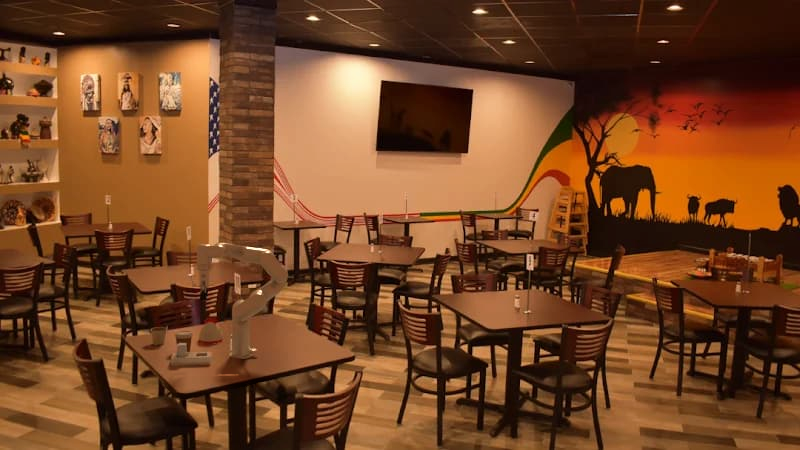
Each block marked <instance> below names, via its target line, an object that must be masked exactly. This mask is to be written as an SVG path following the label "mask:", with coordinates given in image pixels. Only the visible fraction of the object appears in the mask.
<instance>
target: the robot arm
mask: <svg viewBox="0 0 800 450" xmlns="http://www.w3.org/2000/svg"><path fill="white" fill-rule="evenodd" d="M224 257H226V258H232V259H236V260H238V261H240V262H243V263H249V264H257V265H261V267H262V268H263V270H265V272H266V273H267V274H268V275H269V277H271V278H270V280H269V281H268V282H266V283H265V284H264V285H262V286H261V287H259V288H257V289H255V290H253V291H252V292H251V293H250V295H249V297H248V298H246V299H245V300H244V299H239V300H238V299H237V300H236V301H235V302H234V303H233V305H232V308H231V316H232V319H231V320H232V321H231V322H232V323H231V324H232V325H231V352H230V353H228V356H229V357H231V358H235V359H236V358H237V359H240V360H247V359H250V358H251V357H252V356H253V354H258V349H256V348H251V346H250V338H251V337H250V330H251V329H250V328H251V324H250V323H251V317H253V316H254V315H255V316H256V314H257V313H259V312H261V311H263V310H264V308H266V306H267V303H268V301H270V300H272V299H273V298H274V297H276V296H277V295H279V294H280V292H282V291H283V290H284V288H285V286H286V284H287V281H288V278H289V273H288V272H289V271H288V268H287V267H286V266H285V265H282V264H281V263H280V262H279V260H278V259H277V258H276V256H275V254H274V252H273V251H272V250H270V249H266V248H258V247H250V246H244V245H239V244H232V243H226V242H217V243H215V244H214V245H211V244H207V243H199V244H198V245H197V246H196V270H197V271H199V272H198V282H199V283H198V284H199V288H200V291H199V292H200V293H199V300H200V301H206V300H207V297H208V290H209V288H210V287H211V286H210V285H211V284H210V283H211V282H210V281H211V280H210V279H211V277H210V275H211V274H210V271H211V270H212V259H218V260H219V259H222V258H224Z"/></svg>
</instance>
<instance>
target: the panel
mask: <svg viewBox="0 0 800 450" xmlns="http://www.w3.org/2000/svg"><path fill="white" fill-rule="evenodd" d="M212 360H213V351H190V352H187V357H178V351H177V352H173V353H172V355H171V358H170V366H172V367H173V366H176V367H179V366H180V367H182V366H203V365H206V366H211V364H212Z"/></svg>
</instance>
